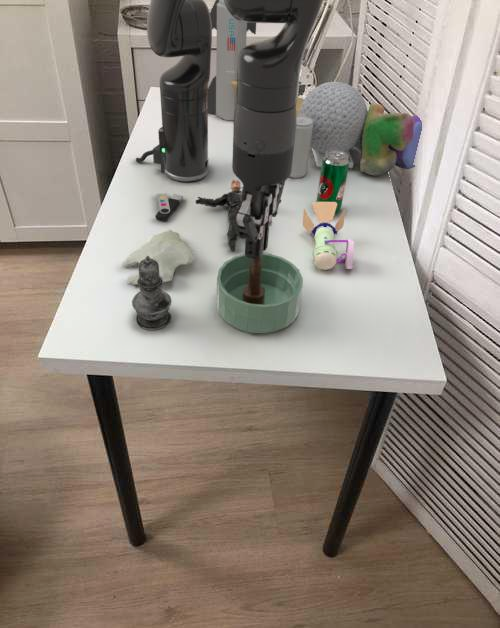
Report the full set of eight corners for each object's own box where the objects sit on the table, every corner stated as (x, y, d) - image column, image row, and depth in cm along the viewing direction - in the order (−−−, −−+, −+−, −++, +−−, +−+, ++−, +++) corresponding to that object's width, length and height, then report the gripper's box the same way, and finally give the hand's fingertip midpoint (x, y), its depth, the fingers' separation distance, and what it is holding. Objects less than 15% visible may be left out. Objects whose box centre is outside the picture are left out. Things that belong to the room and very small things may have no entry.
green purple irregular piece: (422, 175, 130) (326, 139, 147) (444, 126, 126) (343, 94, 144) (395, 165, 120) (295, 128, 138) (418, 111, 116) (313, 80, 134)
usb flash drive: (166, 221, 105) (166, 217, 105) (140, 216, 106) (140, 211, 106) (183, 199, 111) (183, 195, 111) (159, 194, 112) (159, 190, 112)
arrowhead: (189, 289, 90) (204, 238, 101) (186, 272, 88) (201, 221, 99) (115, 289, 92) (138, 239, 103) (110, 273, 89) (134, 223, 101)
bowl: (202, 319, 86) (202, 289, 82) (238, 272, 95) (239, 244, 91) (280, 346, 83) (284, 317, 79) (309, 295, 92) (314, 266, 88)
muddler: (238, 308, 86) (242, 225, 76) (247, 295, 88) (252, 213, 78) (258, 315, 85) (265, 232, 75) (267, 301, 87) (275, 220, 77)
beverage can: (281, 175, 121) (286, 122, 113) (288, 166, 124) (294, 113, 116) (302, 180, 120) (309, 127, 111) (309, 171, 123) (316, 118, 115)
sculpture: (375, 165, 128) (417, 170, 123) (358, 177, 122) (402, 184, 117) (377, 98, 120) (422, 101, 115) (359, 108, 114) (406, 112, 109)
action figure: (197, 237, 96) (194, 174, 110) (197, 256, 99) (194, 192, 113) (291, 236, 98) (276, 174, 112) (288, 254, 101) (274, 192, 115)
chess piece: (135, 306, 88) (127, 243, 80) (172, 305, 88) (169, 243, 80) (132, 332, 84) (124, 269, 75) (172, 331, 84) (168, 268, 76)
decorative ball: (393, 119, 120) (352, 76, 126) (357, 103, 109) (315, 58, 115) (348, 172, 128) (312, 130, 134) (311, 163, 117) (273, 118, 123)
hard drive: (310, 135, 132) (317, 160, 123) (344, 136, 133) (354, 161, 123) (309, 142, 133) (316, 167, 124) (343, 143, 134) (352, 168, 125)
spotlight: (302, 232, 106) (303, 201, 100) (346, 232, 105) (351, 202, 99) (302, 279, 98) (304, 249, 92) (350, 281, 98) (355, 250, 92)
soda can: (339, 218, 109) (349, 162, 101) (313, 215, 110) (322, 158, 102) (341, 205, 113) (351, 150, 105) (316, 201, 114) (325, 146, 105)
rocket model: (256, 109, 146) (264, -22, 125) (257, 121, 140) (265, -14, 120) (202, 107, 145) (201, -26, 125) (201, 118, 140) (200, -18, 119)
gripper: (258, 111, 74) (251, 222, 85) (210, 153, 64) (210, 271, 76) (311, 123, 72) (297, 235, 83) (270, 168, 62) (261, 288, 74)
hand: (256, 252), depth 80 cm, fingers closed on muddler, 2 cm apart
